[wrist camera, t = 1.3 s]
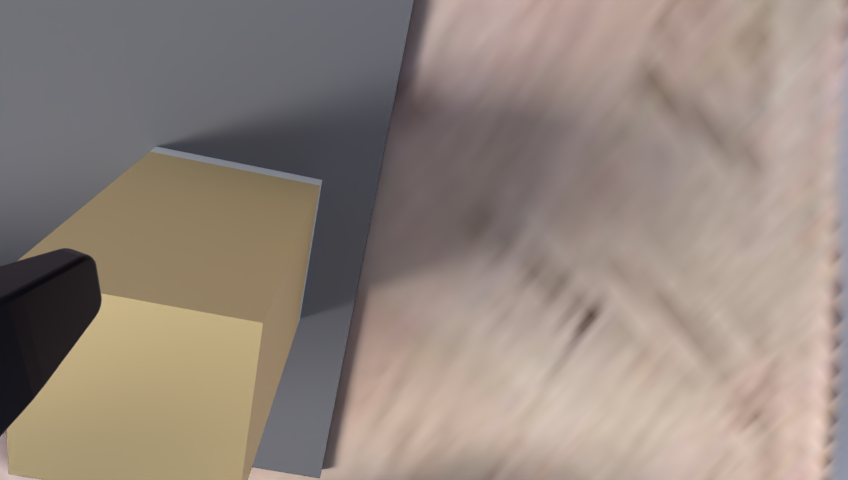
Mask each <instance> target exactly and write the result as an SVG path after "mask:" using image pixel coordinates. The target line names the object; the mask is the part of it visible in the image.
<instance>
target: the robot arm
mask: <svg viewBox="0 0 848 480" xmlns="http://www.w3.org/2000/svg"><path fill="white" fill-rule="evenodd" d="M101 302H102V296H101V290H100V284H99V278H98V272H97V266H96V262H95V260H94V259H93V258H92V257H91V256H90V255H87V254H84V253H82V252H79V251H76V250H73V249H70V248H62V249H58V250H54V251H51V252H47V253H44V254H40V255H37V256H33V257H30V258H26V259H23V260H19V261H16V262H12V263H9V264H5V265H2V266H0V436H1V435H2V434H3V433H4V432H5V431H6V430H7V429H8V427H9V426H10V425H11V424H12V423H13V422H14V421H15V420H16V419H17V418H18V416H19V415H20V414H21V413H22V412H23V411H24V410H25V409H26V407H27V406H28V405H29V404H30V403H31V402H32V401H33V399H34V398H35V397H36V396H37V394H38V393H39V392H40V391H41V389H42V388H43V387H44V386H45V384H46V383H47V382H48V380H49V379H50V378H51V376H52V375H53V374H54V372H55V371H56V370H57V368H58V367H59V365H60V364H61V363H62V361H63V360H64V359H65V357H66V356H67V355H68V353H69V352H70V351H71V349H72V348H73V347H74V345H75V344H76V343H77V341H78V340H79V339H80V337H81V336H82V335H83V333H84V332H85V331H86V329H87V328H88V327H89V325H90V324H91V322H92V321H93V320H94V318H95V317H96V316H97V314H98V312H99V310H100V307H101Z"/></svg>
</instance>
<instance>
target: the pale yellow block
mask: <svg viewBox="0 0 848 480" xmlns="http://www.w3.org/2000/svg"><path fill="white" fill-rule="evenodd" d="M321 185H322V180H320V179H315V178H310V177H305V176H301V175H296V174H291V173H286V172H281V171H276V170H271V169H266V168H261V167H256V166H251V165H246V164H241V163H236V162H231V161H226V160H221V159H216V158H211V157H206V156H201V155H196V154H191V153H186V152H181V151H176V150H171V149H166V148H161V147H155V148H154V149H152V150H151V151H150V152H149V153H147V154H146V155H145V156H144V157H143V158H141V159H140V160H139V161H138V162H137V163H135V164H134V165H133V166H132V167H130V168H129V169H128V170H127V171H126V172H124V173H123V174H122V175H121V176H120V177H118V178H117V179H116V180H115V181H113V182H112V183H111V184H110V185H109V186H107V187H106V188H105V189H104V190H103V191H101V192H100V193H99V194H98V195H97V196H95V197H94V198H93V199H92V200H90V201H89V202H88V203H87V204H86V205H84V206H83V207H82V208H81V209H80V210H78V211H77V212H76V213H75V214H73V215H72V216H71V217H70V218H69V219H67V220H66V221H65V222H64V223H63V224H61V225H60V226H59V227H58V228H56V229H55V230H54V231H53V232H52V233H50V234H49V235H48V236H47V237H46V238H44V239H43V240H42V241H41V242H39V243H38V244H37V245H36V246H35V247H33V248H32V249H31V250H30V251H29V252H27V253H26V254H25V255H24V256H22V257H21V258H20V259H19V260H23V259H26V258H30V257H33V256H37V255H40V254H44V253H47V252H51V251H54V250H58V249H62V248H70V249H73V250H76V251H79V252H82V253H84V254H87V255H90V256H91V257H92V258H93V259H94V260H95V262H96V266H97V272H98V278H99V284H100V290H101V296H102V302H101V307H100V310H99V312H98V314H97V316H96V317H95V318H94V320H93V321H92V322H91V324H90V325H89V327H88V328H87V329H86V331H85V332H84V333H83V335H82V336H81V337H80V339H79V340H78V341H77V343H76V344H75V345H74V347H73V348H72V349H71V351H70V352H69V353H68V355H67V356H66V357H65V359H64V360H63V361H62V363H61V364H60V365H59V367H58V368H57V370H56V371H55V372H54V374H53V375H52V376H51V378H50V379H49V380H48V382H47V383H46V384H45V386H44V387H43V388H42V389H41V391H40V392H39V393H38V394H37V396H36V397H35V398H34V399H33V401H32V402H31V403H30V404H29V405H28V406H27V407H26V409H25V410H24V411H23V412H22V413H21V414H20V415H19V416H18V418H17V419H16V420H15V421H14V422H13V423H12V424H11V425H10V426H9V427H8V429H7V448H8V472H9V474H11V475H17V476H23V477H29V478H35V479H42V480H248V477H249V474H250V471H251V468H252V465H253V462H254V459H255V456H256V453H257V449H258V446H259V443H260V440H261V437H262V434H263V431H264V428H265V425H266V422H267V419H268V416H269V413H270V409H271V406H272V403H273V400H274V397H275V394H276V391H277V388H278V385H279V382H280V379H281V376H282V373H283V369H284V366H285V363H286V360H287V357H288V354H289V351H290V348H291V345H292V342H293V339H294V336H295V333H296V329H297V326H298V323H299V320H300V315H301V309H302V303H303V297H304V290H305V284H306V278H307V272H308V266H309V259H310V253H311V247H312V241H313V235H314V228H315V222H316V216H317V210H318V204H319V197H320V191H321ZM19 260H18V261H19Z"/></svg>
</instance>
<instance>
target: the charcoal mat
mask: <svg viewBox="0 0 848 480" xmlns="http://www.w3.org/2000/svg"><path fill="white" fill-rule="evenodd" d="M413 2H414V0H0V266H2V265H5V264H9V263H12V262H16V261H18V260H19V259H20V258H21V257H22V256H24V255H25V254H26V253H27V252H29V251H30V250H31V249H32V248H33V247H35V246H36V245H37V244H38V243H39V242H41V241H42V240H43V239H44V238H46V237H47V236H48V235H49V234H50V233H52V232H53V231H54V230H55V229H56V228H58V227H59V226H60V225H61V224H63V223H64V222H65V221H66V220H67V219H69V218H70V217H71V216H72V215H73V214H75V213H76V212H77V211H78V210H80V209H81V208H82V207H83V206H84V205H86V204H87V203H88V202H89V201H90V200H92V199H93V198H94V197H95V196H97V195H98V194H99V193H100V192H101V191H103V190H104V189H105V188H106V187H107V186H109V185H110V184H111V183H112V182H113V181H115V180H116V179H117V178H118V177H120V176H121V175H122V174H123V173H124V172H126V171H127V170H128V169H129V168H130V167H132V166H133V165H134V164H135V163H137V162H138V161H139V160H140V159H141V158H143V157H144V156H145V155H146V154H147V153H149V152H150V151H151V150H152V149H154V148H155V147H161V148H166V149H171V150H176V151H181V152H186V153H191V154H196V155H201V156H206V157H211V158H216V159H221V160H226V161H231V162H236V163H241V164H246V165H251V166H256V167H261V168H266V169H271V170H276V171H281V172H286V173H291V174H296V175H301V176H305V177H310V178H315V179H320V180H322V185H321V191H320V197H319V204H318V210H317V216H316V222H315V228H314V235H313V241H312V247H311V253H310V259H309V266H308V272H307V278H306V284H305V290H304V297H303V303H302V309H301V315H300V320H299V323H298V326H297V329H296V333H295V336H294V339H293V342H292V345H291V348H290V351H289V354H288V357H287V360H286V363H285V366H284V369H283V373H282V376H281V379H280V382H279V385H278V388H277V391H276V394H275V397H274V400H273V403H272V406H271V409H270V413H269V416H268V419H267V422H266V425H265V428H264V431H263V434H262V437H261V440H260V443H259V446H258V449H257V453H256V456H255V459H254V462H253V465H252V467H255V468H261V469H267V470H273V471H279V472H285V473H291V474H297V475H303V476H309V477H315V478H320V475H321V470H322V465H323V460H324V455H325V450H326V445H327V440H328V435H329V429H330V424H331V419H332V414H333V409H334V404H335V399H336V394H337V389H338V384H339V379H340V373H341V368H342V363H343V358H344V353H345V348H346V343H347V338H348V333H349V328H350V323H351V317H352V312H353V307H354V302H355V297H356V292H357V287H358V282H359V277H360V272H361V267H362V261H363V256H364V251H365V246H366V241H367V236H368V231H369V226H370V221H371V216H372V211H373V205H374V200H375V195H376V190H377V185H378V180H379V175H380V170H381V165H382V160H383V154H384V149H385V144H386V139H387V134H388V129H389V124H390V119H391V114H392V109H393V104H394V98H395V93H396V88H397V83H398V78H399V73H400V68H401V63H402V58H403V53H404V48H405V42H406V37H407V32H408V27H409V22H410V17H411V12H412V7H413Z"/></svg>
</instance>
